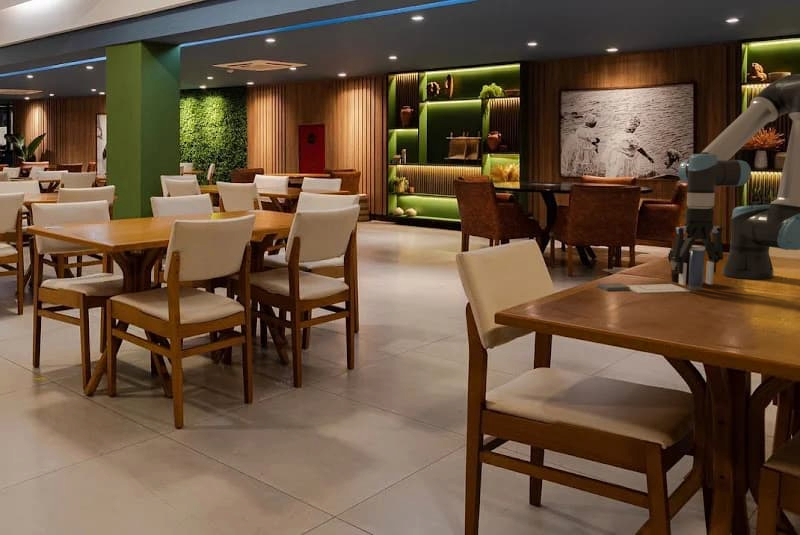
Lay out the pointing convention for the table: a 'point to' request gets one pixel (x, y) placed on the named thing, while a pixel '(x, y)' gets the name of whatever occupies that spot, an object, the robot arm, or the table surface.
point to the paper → (657, 288)
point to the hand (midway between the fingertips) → (695, 283)
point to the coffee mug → (674, 268)
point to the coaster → (613, 287)
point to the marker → (696, 267)
